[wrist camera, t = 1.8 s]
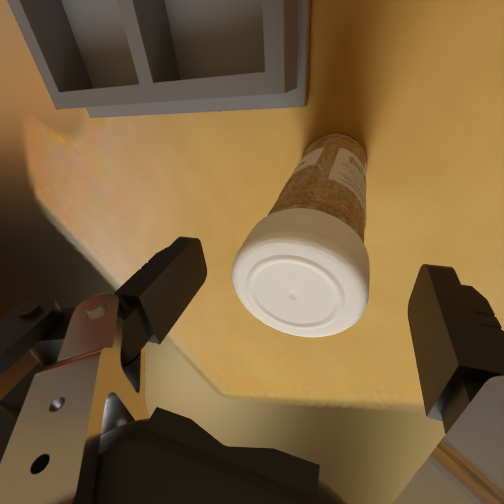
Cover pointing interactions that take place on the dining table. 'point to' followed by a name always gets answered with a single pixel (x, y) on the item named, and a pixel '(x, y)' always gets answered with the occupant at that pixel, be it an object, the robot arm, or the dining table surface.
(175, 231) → the dining table surface
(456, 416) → the robot arm
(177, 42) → the caddy
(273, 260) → the sprinkles bottle
